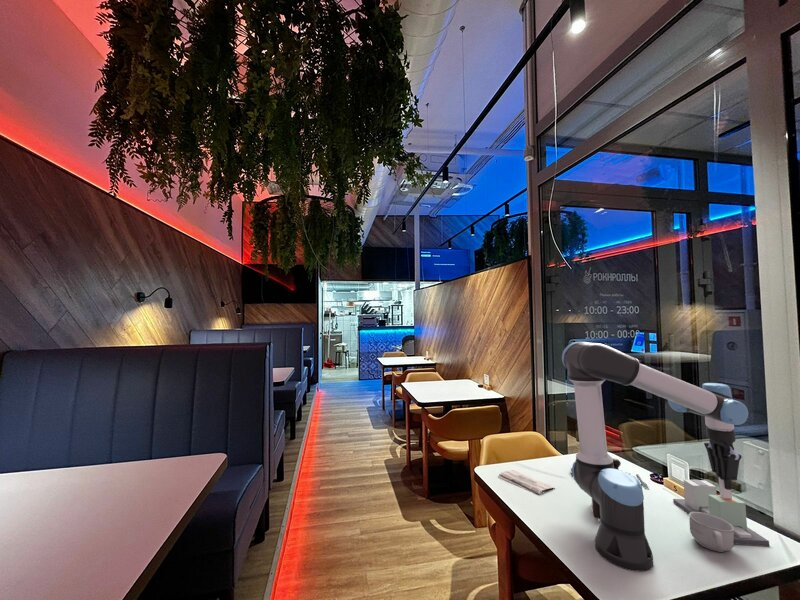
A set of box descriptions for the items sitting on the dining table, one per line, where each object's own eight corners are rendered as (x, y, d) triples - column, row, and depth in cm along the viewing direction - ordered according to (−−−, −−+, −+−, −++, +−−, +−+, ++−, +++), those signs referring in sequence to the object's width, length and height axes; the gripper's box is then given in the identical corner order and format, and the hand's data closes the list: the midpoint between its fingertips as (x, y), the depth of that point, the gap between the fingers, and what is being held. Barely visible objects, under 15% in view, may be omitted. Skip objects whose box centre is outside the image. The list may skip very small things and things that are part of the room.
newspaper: (496, 478, 161) (496, 472, 161) (514, 475, 167) (514, 469, 168) (538, 498, 142) (538, 492, 142) (556, 494, 148) (556, 487, 148)
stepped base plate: (728, 543, 112) (726, 509, 112) (673, 502, 137) (671, 475, 138) (769, 545, 110) (766, 511, 111) (705, 504, 136) (704, 476, 137)
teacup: (690, 531, 118) (688, 507, 119) (733, 544, 111) (732, 518, 112) (690, 552, 107) (689, 525, 108) (739, 567, 100) (737, 539, 101)
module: (721, 529, 117) (719, 501, 118) (709, 520, 122) (708, 494, 123) (747, 530, 116) (745, 502, 117) (734, 522, 121) (732, 495, 122)
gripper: (748, 434, 115) (755, 507, 113) (716, 423, 128) (722, 489, 126) (723, 433, 115) (730, 506, 114) (694, 422, 128) (700, 488, 127)
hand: (726, 497), depth 120 cm, fingers closed
